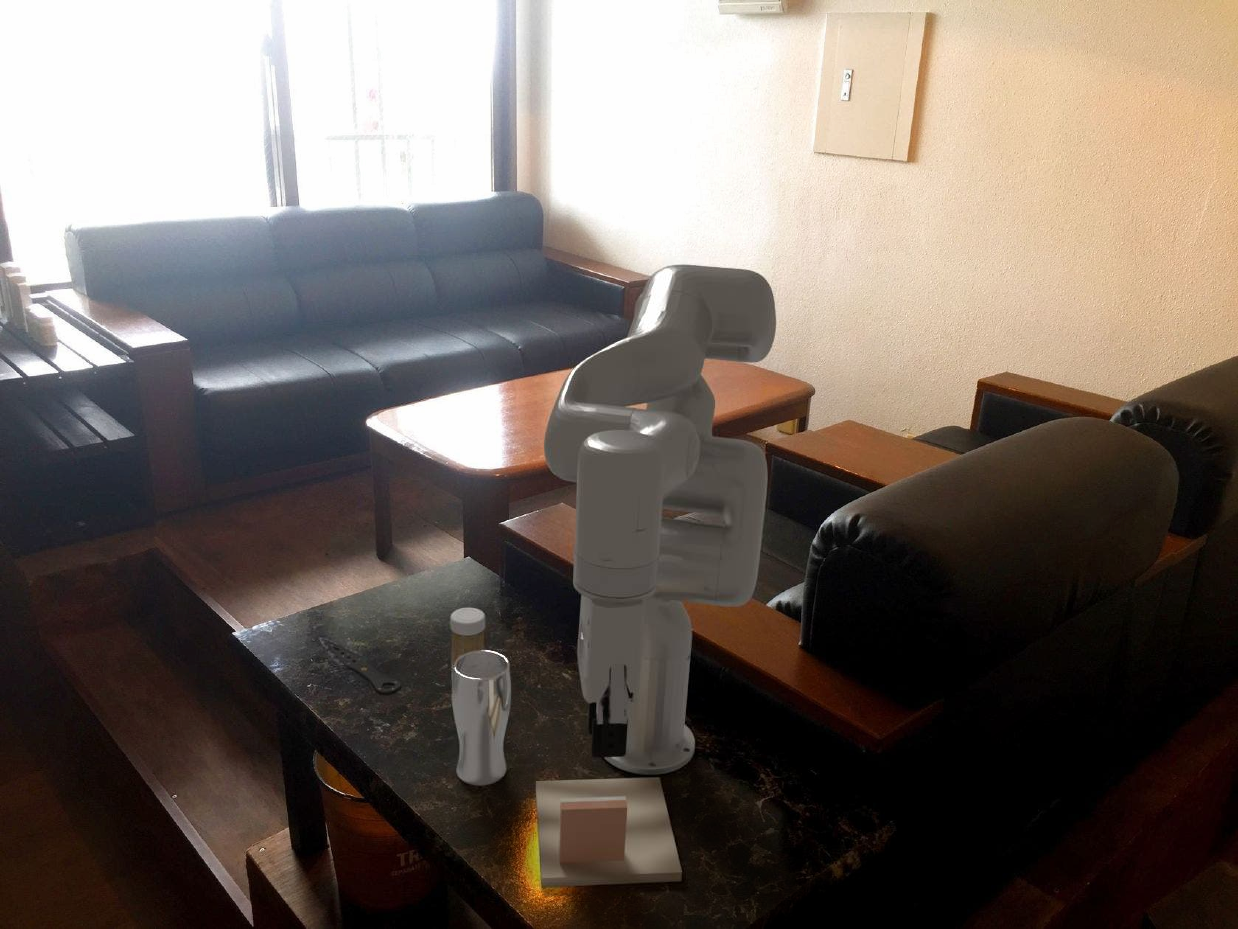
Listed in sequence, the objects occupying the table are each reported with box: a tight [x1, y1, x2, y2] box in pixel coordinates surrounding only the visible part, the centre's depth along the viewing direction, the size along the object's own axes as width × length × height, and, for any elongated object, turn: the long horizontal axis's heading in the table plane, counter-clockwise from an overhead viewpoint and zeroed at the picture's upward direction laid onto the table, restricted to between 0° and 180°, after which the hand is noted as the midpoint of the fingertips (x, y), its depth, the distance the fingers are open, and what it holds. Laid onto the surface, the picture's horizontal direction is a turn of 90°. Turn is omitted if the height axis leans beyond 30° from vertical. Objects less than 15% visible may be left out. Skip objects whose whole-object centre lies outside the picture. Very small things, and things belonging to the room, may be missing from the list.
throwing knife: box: [317, 636, 401, 695], centre depth 147 cm, size 4×20×1 cm, turn 46°
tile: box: [558, 796, 627, 863], centre depth 110 cm, size 2×7×7 cm, turn 96°
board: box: [535, 776, 683, 888], centre depth 116 cm, size 16×15×1 cm
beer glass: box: [451, 649, 512, 787], centre depth 123 cm, size 7×7×15 cm
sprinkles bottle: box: [449, 607, 486, 703], centre depth 137 cm, size 5×5×13 cm
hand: (606, 742), depth 97 cm, fingers closed
